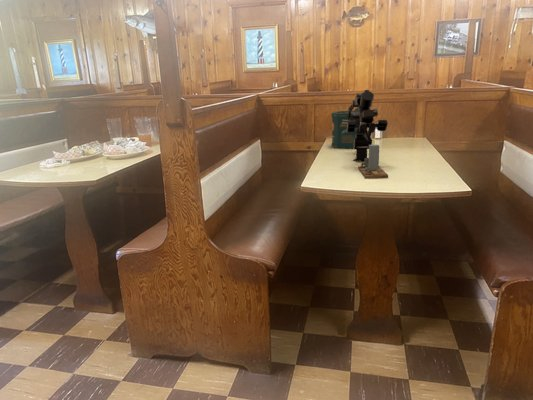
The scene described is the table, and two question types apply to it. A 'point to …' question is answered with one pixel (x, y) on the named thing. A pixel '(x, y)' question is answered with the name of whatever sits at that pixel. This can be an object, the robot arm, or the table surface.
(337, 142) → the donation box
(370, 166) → the block
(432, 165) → the table surface
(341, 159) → the table surface
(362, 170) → the hole plate
